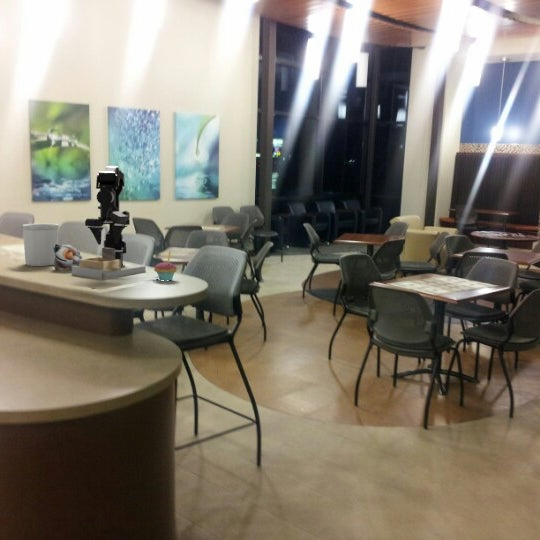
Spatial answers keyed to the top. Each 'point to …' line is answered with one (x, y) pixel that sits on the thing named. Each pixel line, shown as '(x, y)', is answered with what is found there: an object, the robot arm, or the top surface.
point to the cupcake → (165, 270)
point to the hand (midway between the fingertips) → (108, 243)
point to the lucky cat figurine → (66, 257)
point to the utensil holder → (40, 243)
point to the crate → (102, 261)
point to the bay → (103, 274)
